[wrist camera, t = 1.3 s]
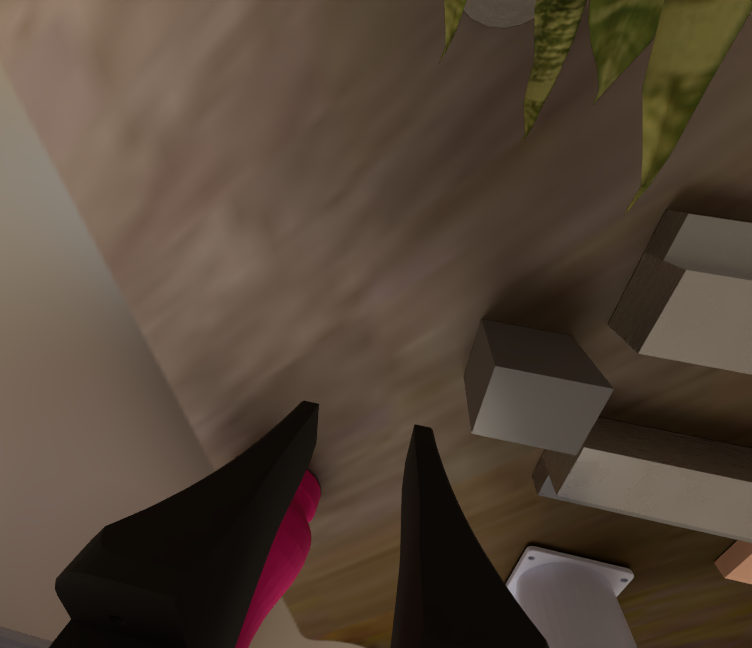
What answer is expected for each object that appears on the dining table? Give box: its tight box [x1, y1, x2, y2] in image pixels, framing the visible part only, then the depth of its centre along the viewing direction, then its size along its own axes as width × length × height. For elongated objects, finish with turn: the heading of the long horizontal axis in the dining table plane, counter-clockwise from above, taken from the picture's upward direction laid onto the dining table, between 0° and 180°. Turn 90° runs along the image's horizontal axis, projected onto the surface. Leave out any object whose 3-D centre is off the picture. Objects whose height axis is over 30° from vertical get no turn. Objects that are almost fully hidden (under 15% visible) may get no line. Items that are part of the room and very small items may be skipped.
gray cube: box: [464, 319, 614, 455], centre depth 17 cm, size 4×5×5 cm
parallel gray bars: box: [532, 209, 752, 543], centre depth 17 cm, size 18×14×3 cm
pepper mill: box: [235, 470, 321, 648], centre depth 19 cm, size 7×7×20 cm
